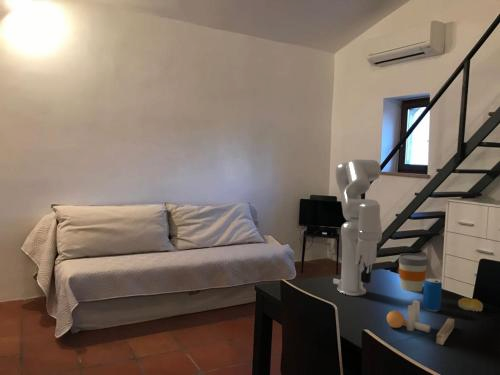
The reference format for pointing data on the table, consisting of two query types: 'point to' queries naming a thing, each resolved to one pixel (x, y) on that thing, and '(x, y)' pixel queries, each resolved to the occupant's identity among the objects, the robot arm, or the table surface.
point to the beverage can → (432, 294)
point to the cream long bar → (445, 331)
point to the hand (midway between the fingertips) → (365, 281)
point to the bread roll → (470, 304)
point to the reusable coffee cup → (412, 271)
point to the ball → (395, 319)
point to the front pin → (419, 326)
